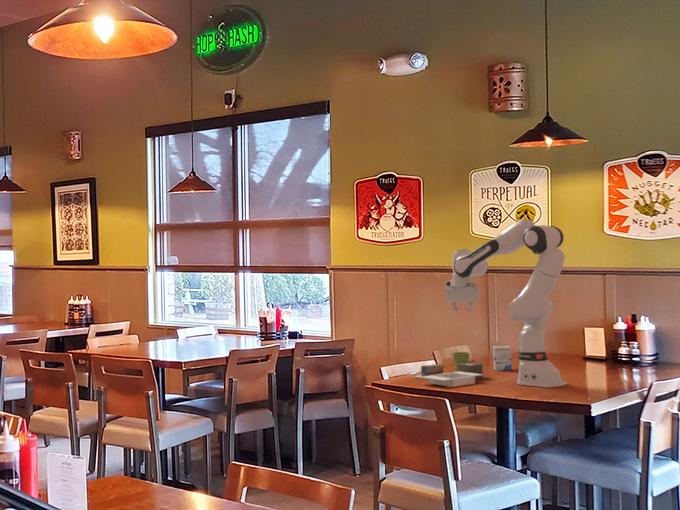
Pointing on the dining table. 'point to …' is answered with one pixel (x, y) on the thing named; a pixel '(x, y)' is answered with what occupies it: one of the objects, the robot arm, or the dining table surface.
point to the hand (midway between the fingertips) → (462, 311)
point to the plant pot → (460, 358)
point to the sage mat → (419, 377)
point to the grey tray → (452, 378)
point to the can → (471, 368)
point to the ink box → (502, 358)
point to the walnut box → (431, 369)
